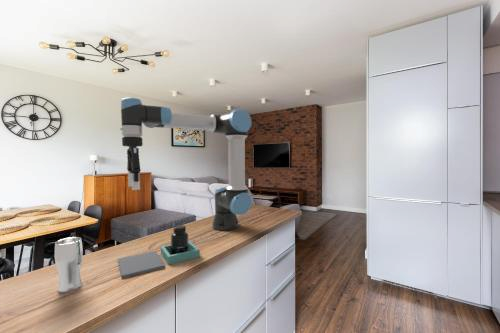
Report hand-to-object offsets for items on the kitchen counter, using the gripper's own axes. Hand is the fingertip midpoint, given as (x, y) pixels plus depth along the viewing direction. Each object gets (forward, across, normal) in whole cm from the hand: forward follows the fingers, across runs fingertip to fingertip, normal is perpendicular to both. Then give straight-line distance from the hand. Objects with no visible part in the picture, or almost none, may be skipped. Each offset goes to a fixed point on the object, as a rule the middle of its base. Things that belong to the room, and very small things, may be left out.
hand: (133, 188), depth 99 cm
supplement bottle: (+28, +12, +15) cm, 34 cm away
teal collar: (+28, +12, +15) cm, 34 cm away
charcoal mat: (+28, +12, 0) cm, 30 cm away
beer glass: (+28, +17, -21) cm, 39 cm away
